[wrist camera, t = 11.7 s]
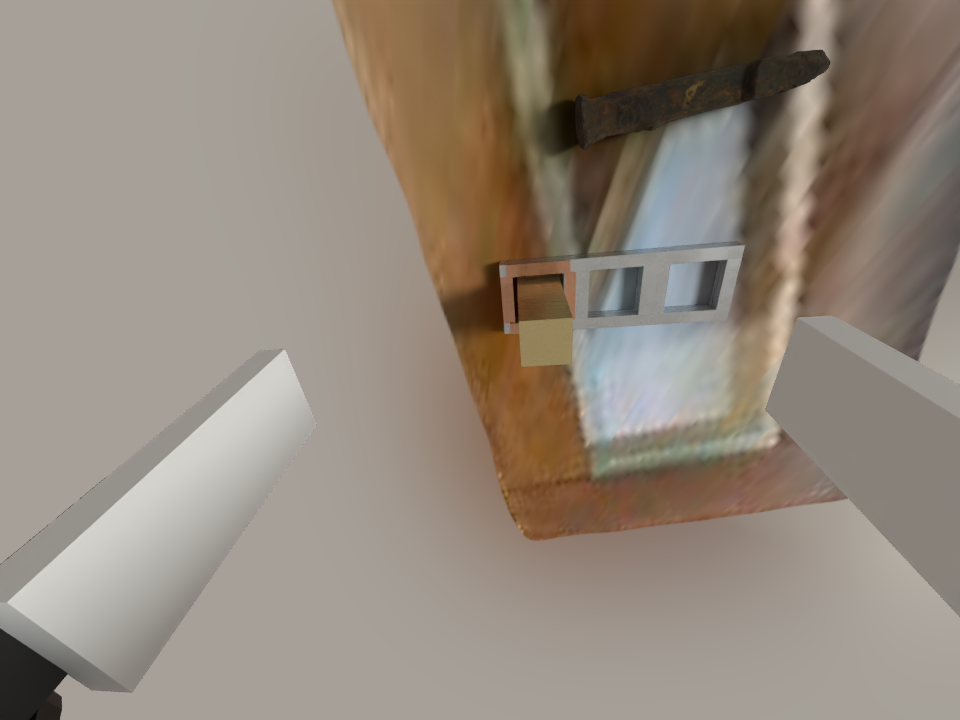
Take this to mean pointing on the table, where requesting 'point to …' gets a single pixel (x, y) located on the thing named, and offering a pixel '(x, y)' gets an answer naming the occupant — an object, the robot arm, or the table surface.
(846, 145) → the table surface
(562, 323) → the brass post
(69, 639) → the robot arm
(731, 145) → the table surface
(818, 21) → the table surface
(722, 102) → the hand tool
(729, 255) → the triple square frame
